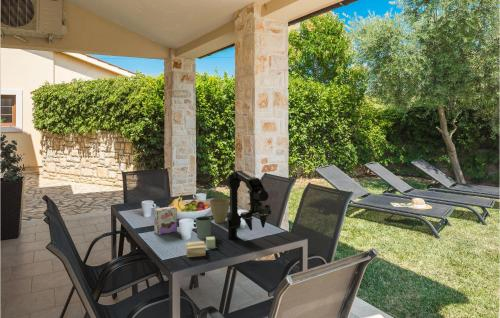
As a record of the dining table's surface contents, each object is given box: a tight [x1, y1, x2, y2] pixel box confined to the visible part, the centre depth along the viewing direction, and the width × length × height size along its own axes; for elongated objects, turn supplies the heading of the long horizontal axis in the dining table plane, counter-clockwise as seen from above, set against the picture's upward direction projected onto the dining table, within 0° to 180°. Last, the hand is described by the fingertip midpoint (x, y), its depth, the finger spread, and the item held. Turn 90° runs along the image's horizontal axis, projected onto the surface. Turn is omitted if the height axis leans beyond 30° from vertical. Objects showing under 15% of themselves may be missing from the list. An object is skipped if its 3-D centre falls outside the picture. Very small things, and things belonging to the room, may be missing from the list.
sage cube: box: [205, 236, 216, 249], centre depth 202 cm, size 5×5×5 cm
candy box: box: [153, 205, 178, 236], centre depth 227 cm, size 14×6×16 cm, turn 126°
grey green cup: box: [195, 215, 212, 240], centre depth 219 cm, size 10×10×12 cm
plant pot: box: [209, 197, 230, 224], centre depth 252 cm, size 15×15×16 cm
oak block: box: [185, 240, 207, 258], centre depth 192 cm, size 10×10×5 cm
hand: (257, 228), depth 190 cm, fingers open, 9 cm apart
